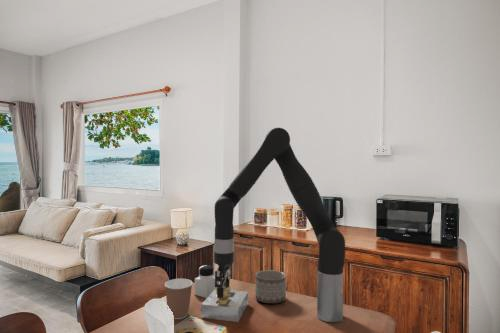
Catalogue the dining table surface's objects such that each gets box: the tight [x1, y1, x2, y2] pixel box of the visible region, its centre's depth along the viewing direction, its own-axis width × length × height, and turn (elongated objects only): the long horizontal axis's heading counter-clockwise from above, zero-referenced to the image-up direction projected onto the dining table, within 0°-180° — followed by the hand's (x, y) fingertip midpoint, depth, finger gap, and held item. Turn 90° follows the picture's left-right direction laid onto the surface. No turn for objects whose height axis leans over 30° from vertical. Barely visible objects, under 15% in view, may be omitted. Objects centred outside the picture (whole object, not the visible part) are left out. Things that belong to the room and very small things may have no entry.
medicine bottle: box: [194, 264, 216, 299], centre depth 149 cm, size 7×7×12 cm
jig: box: [200, 289, 249, 323], centre depth 133 cm, size 14×16×5 cm
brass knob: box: [216, 285, 232, 305], centre depth 129 cm, size 5×5×10 cm
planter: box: [254, 269, 287, 304], centre depth 144 cm, size 13×13×10 cm
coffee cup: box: [164, 278, 194, 320], centre depth 129 cm, size 10×10×12 cm
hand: (223, 293), depth 130 cm, fingers open, 7 cm apart
